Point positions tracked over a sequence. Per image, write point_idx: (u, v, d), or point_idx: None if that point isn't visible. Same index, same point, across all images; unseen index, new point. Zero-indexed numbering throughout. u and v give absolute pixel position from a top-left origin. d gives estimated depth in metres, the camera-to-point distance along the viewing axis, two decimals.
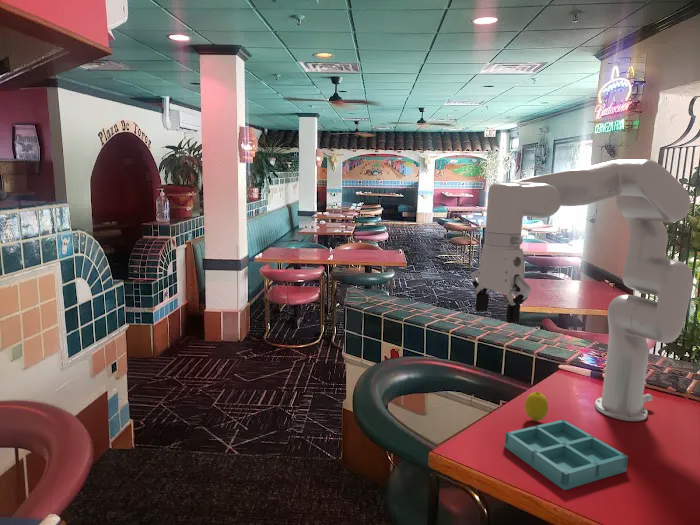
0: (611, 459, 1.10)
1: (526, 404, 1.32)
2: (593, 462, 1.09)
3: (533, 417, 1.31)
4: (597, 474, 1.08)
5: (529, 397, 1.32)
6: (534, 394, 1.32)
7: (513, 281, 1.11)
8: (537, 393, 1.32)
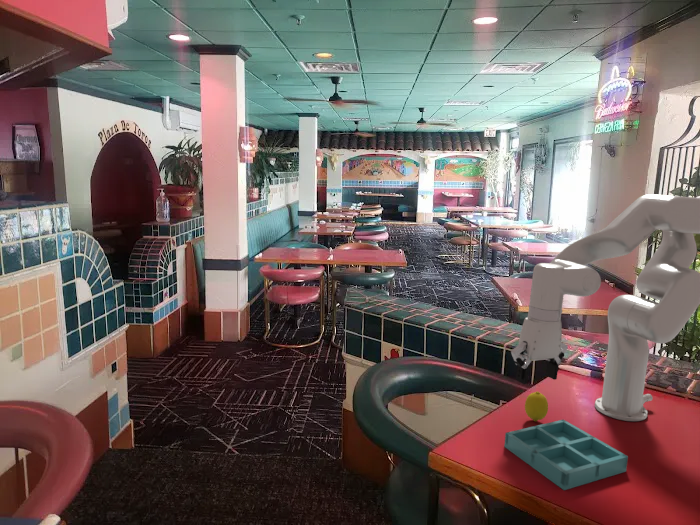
0: (611, 459, 1.10)
1: (526, 404, 1.32)
2: (593, 462, 1.09)
3: (533, 417, 1.31)
4: (597, 474, 1.08)
5: (529, 397, 1.32)
6: (534, 394, 1.32)
7: None
8: (537, 393, 1.32)
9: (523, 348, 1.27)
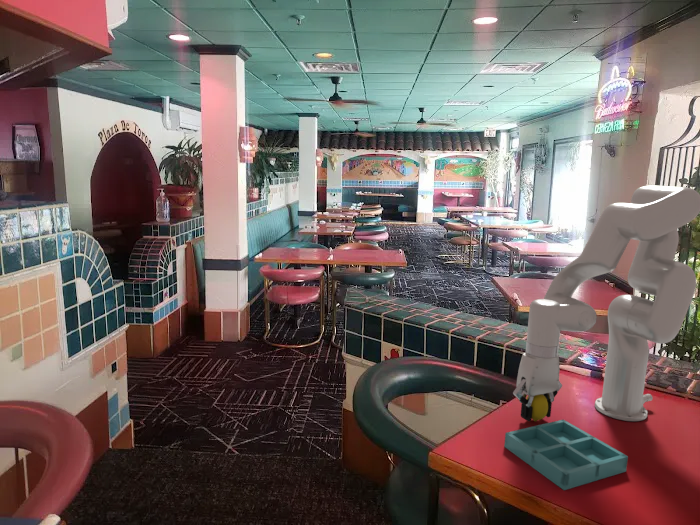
0: (611, 459, 1.10)
1: None
2: (593, 462, 1.09)
3: (533, 417, 1.31)
4: (597, 474, 1.08)
5: None
6: None
7: None
8: None
9: (523, 387, 1.29)
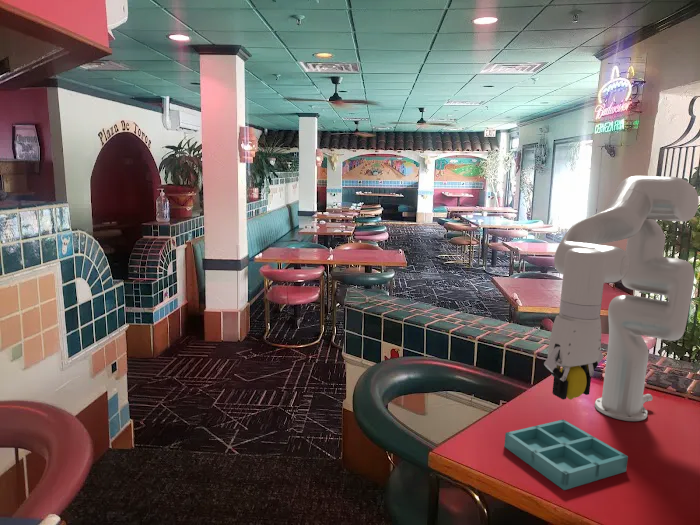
0: (611, 459, 1.10)
1: None
2: (593, 462, 1.09)
3: (568, 394, 1.06)
4: (597, 474, 1.08)
5: None
6: None
7: None
8: None
9: (557, 356, 1.04)
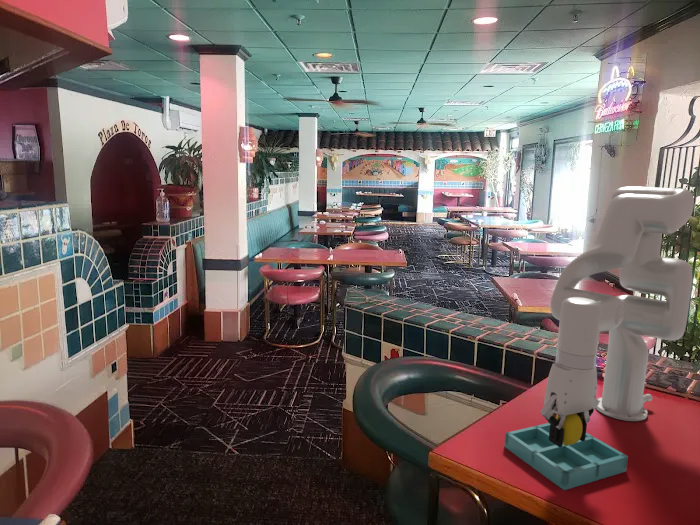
0: (611, 459, 1.10)
1: None
2: (593, 462, 1.09)
3: (564, 441, 1.08)
4: (597, 474, 1.08)
5: None
6: None
7: None
8: None
9: (553, 405, 1.05)
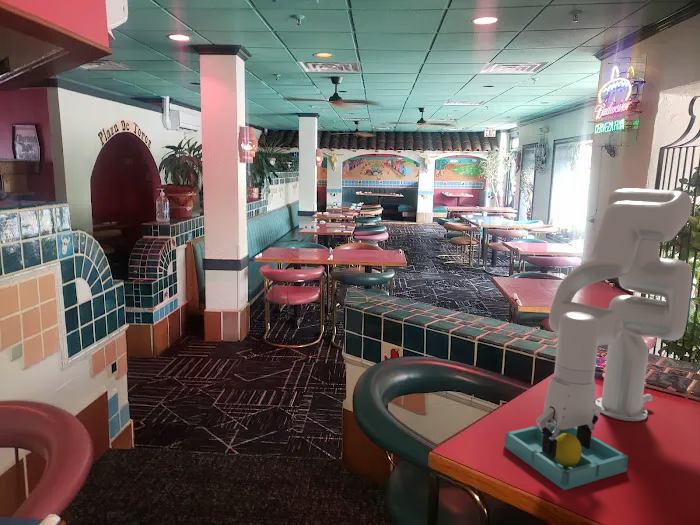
0: (611, 459, 1.10)
1: None
2: (593, 462, 1.09)
3: (564, 464, 1.09)
4: (597, 474, 1.08)
5: (558, 439, 1.10)
6: (565, 436, 1.09)
7: None
8: (568, 435, 1.09)
9: (550, 416, 1.05)
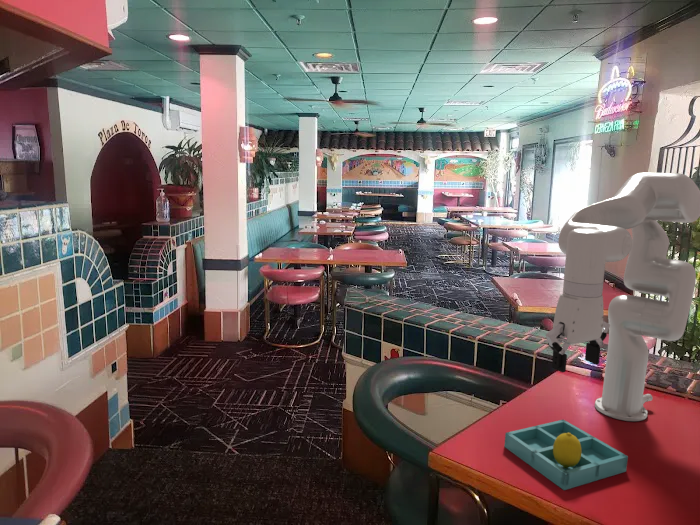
0: (611, 459, 1.10)
1: (555, 448, 1.10)
2: (593, 462, 1.09)
3: (564, 464, 1.09)
4: (597, 474, 1.08)
5: (558, 439, 1.10)
6: (565, 436, 1.09)
7: None
8: (568, 435, 1.09)
9: (560, 331, 1.07)
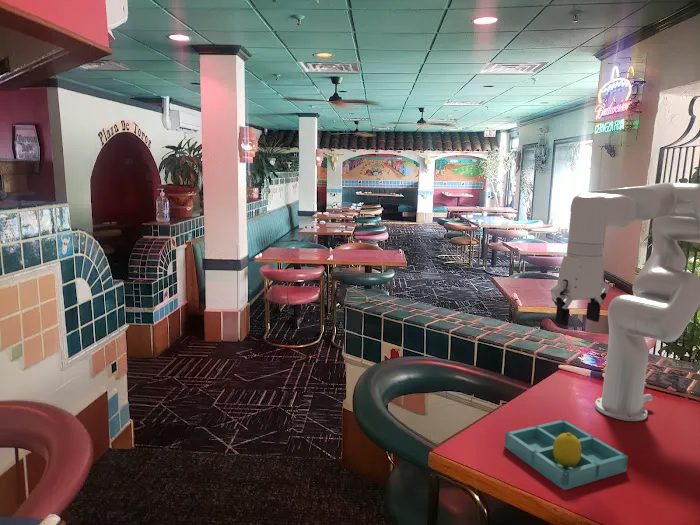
0: (611, 459, 1.10)
1: (555, 448, 1.10)
2: (593, 462, 1.09)
3: (564, 464, 1.09)
4: (597, 474, 1.08)
5: (558, 439, 1.10)
6: (565, 436, 1.09)
7: None
8: (568, 435, 1.09)
9: (563, 287, 1.18)
